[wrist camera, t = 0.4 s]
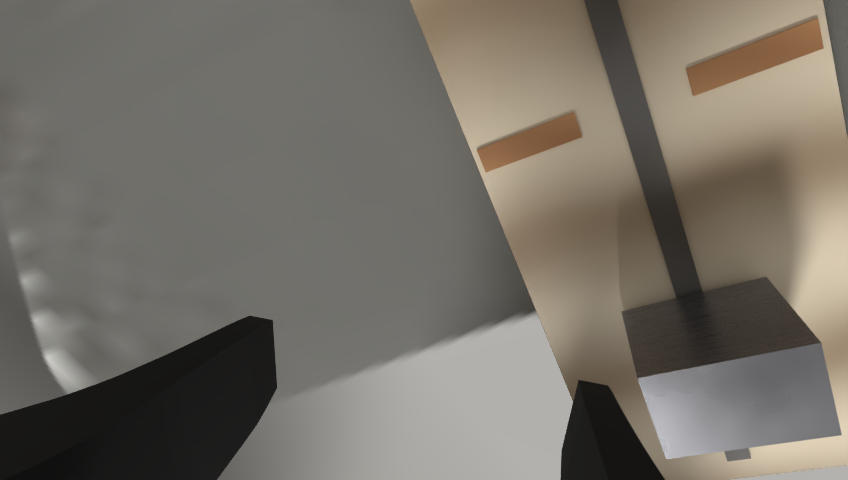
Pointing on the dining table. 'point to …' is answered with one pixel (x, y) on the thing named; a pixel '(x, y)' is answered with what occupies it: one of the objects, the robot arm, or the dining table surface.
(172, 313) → the dining table surface
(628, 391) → the board
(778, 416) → the fader tab
